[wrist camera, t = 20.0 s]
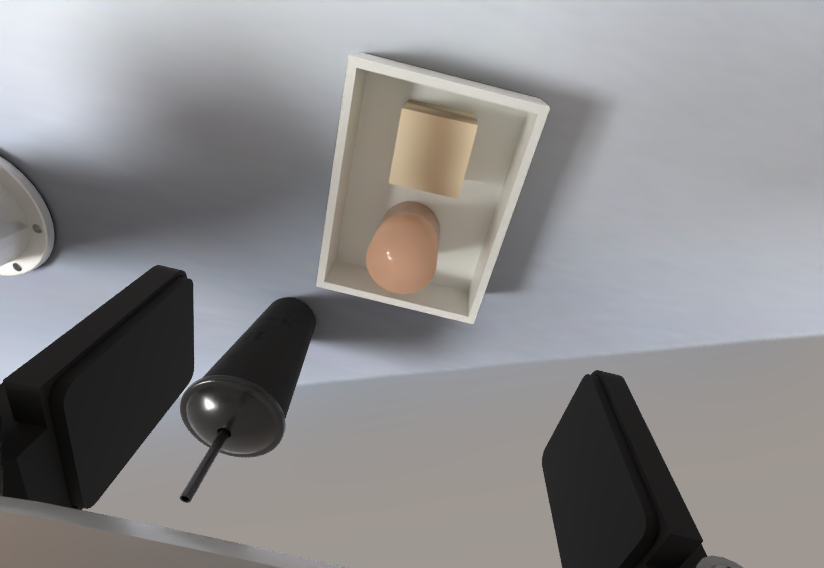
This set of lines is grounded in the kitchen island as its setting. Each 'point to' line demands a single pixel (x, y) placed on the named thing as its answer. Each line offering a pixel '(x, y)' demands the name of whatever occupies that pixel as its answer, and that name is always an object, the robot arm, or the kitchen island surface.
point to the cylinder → (404, 248)
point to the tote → (458, 218)
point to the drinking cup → (249, 388)
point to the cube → (432, 148)
